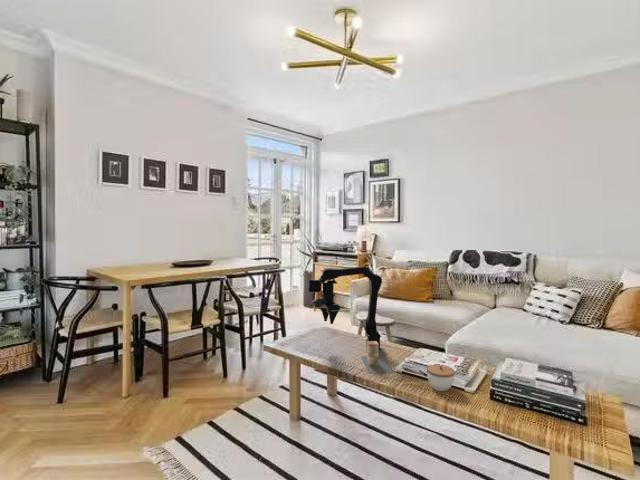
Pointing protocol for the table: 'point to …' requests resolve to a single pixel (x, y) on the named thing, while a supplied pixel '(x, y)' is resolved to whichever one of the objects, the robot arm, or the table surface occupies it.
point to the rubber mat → (381, 367)
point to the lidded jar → (440, 376)
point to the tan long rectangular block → (372, 352)
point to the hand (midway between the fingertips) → (328, 322)
